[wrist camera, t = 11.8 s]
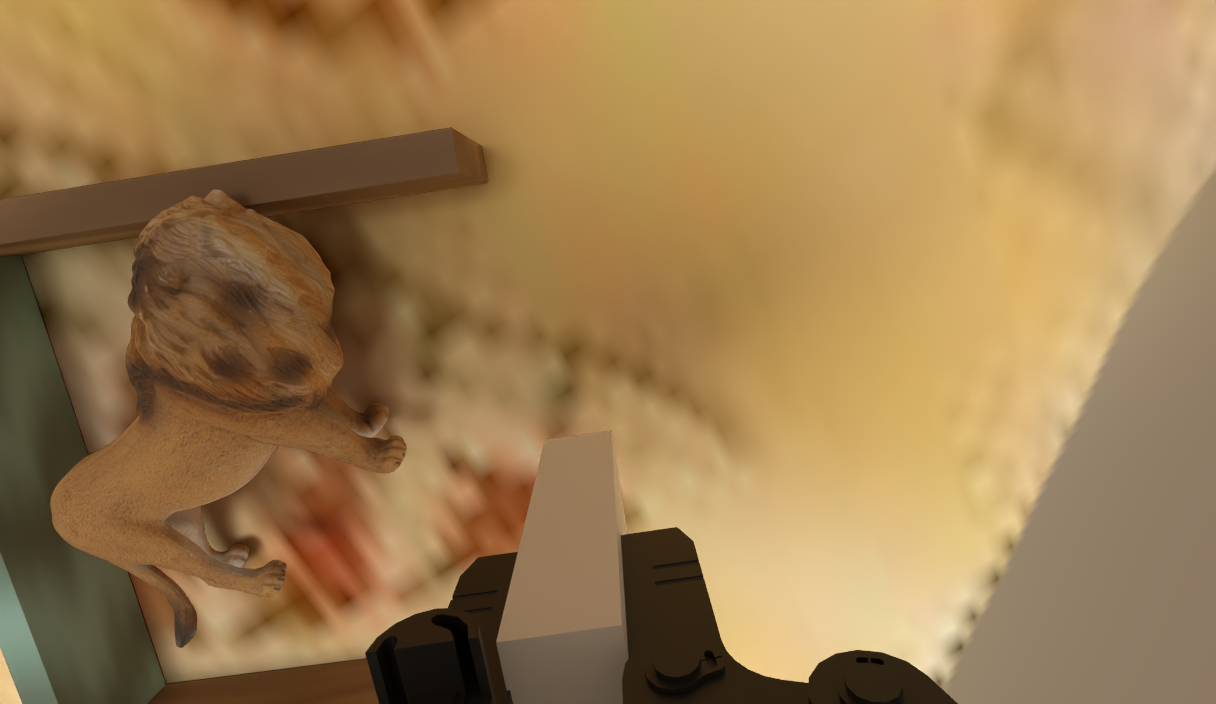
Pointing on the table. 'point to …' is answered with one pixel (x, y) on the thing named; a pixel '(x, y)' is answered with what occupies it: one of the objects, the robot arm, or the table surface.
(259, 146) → the table surface
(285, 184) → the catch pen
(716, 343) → the table surface
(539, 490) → the robot arm
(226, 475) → the lion figurine
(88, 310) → the table surface
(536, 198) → the table surface
